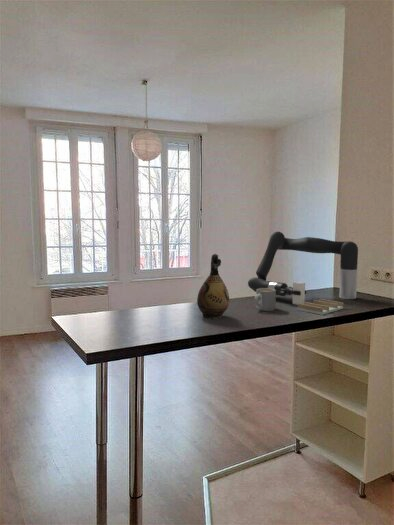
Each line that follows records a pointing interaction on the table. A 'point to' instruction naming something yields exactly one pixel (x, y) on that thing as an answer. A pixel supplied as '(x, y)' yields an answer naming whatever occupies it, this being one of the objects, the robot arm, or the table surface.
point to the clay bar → (300, 287)
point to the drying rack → (321, 306)
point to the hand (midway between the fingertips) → (303, 292)
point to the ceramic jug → (213, 293)
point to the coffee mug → (265, 299)
